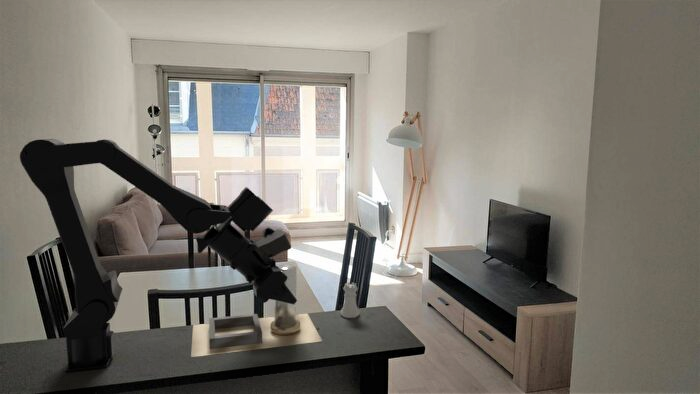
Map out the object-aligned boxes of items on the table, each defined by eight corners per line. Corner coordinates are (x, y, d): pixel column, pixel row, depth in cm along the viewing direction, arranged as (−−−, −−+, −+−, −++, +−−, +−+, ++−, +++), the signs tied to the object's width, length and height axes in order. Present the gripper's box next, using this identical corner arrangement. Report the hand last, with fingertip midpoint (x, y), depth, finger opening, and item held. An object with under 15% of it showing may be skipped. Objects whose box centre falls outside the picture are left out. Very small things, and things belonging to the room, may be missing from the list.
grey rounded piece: (272, 337, 89) (272, 273, 87) (268, 325, 95) (268, 264, 93) (302, 334, 91) (303, 271, 89) (297, 322, 96) (297, 262, 95)
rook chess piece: (351, 324, 98) (352, 289, 97) (335, 319, 101) (336, 284, 100) (363, 318, 102) (364, 283, 100) (348, 313, 104) (348, 279, 103)
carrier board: (191, 362, 81) (190, 346, 81) (193, 329, 94) (192, 315, 94) (322, 346, 88) (322, 331, 88) (307, 317, 101) (307, 304, 101)
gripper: (275, 227, 79) (334, 282, 85) (257, 210, 97) (306, 256, 102) (229, 275, 78) (293, 328, 83) (219, 248, 95) (272, 293, 100)
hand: (292, 297), depth 92 cm, fingers open, 5 cm apart
